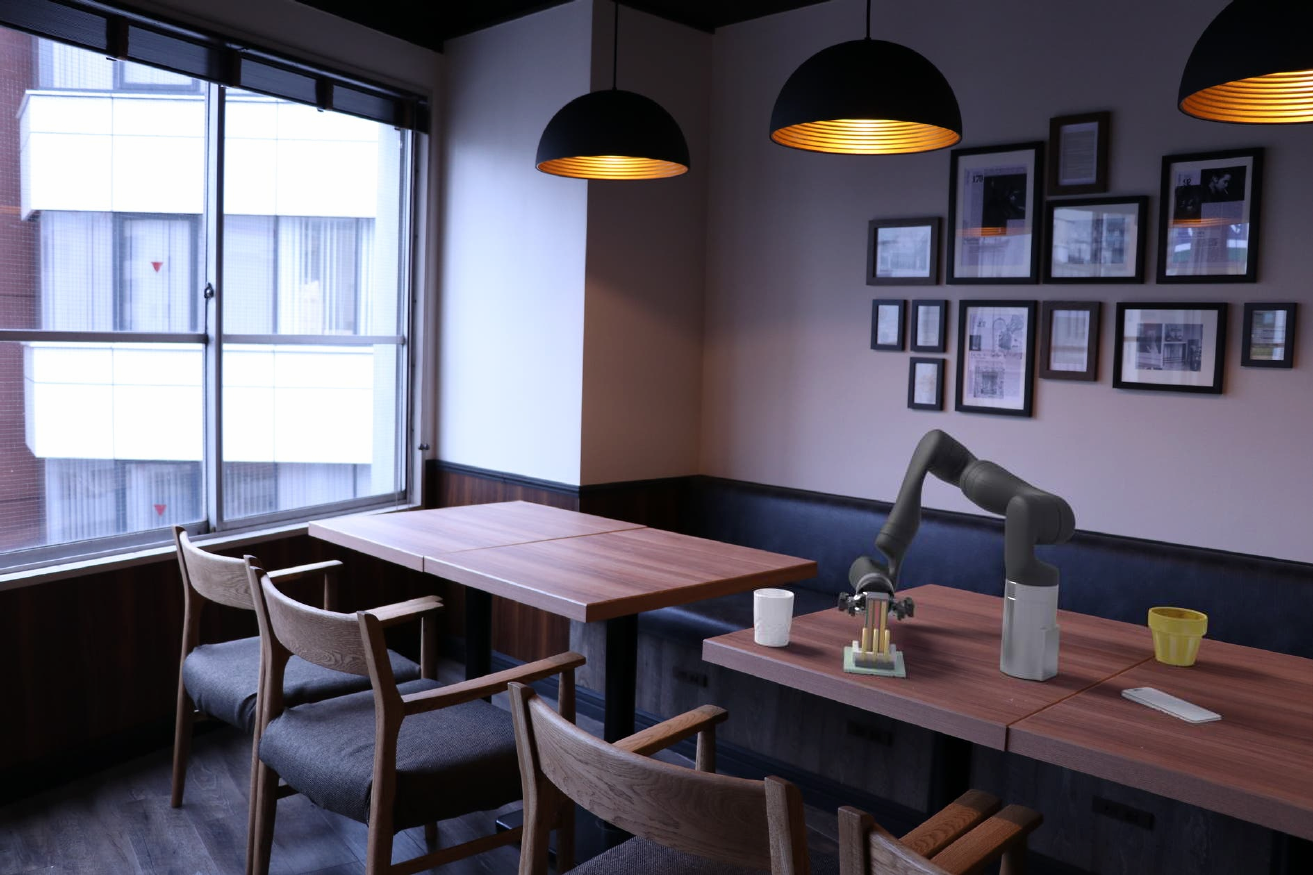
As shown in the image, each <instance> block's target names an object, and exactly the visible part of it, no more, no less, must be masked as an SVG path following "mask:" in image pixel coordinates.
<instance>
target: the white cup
mask: <svg viewBox="0 0 1313 875" xmlns="http://www.w3.org/2000/svg"><path fill="white" fill-rule="evenodd" d="M794 599H795V594H794V593H793V592H792V591H789V590H786V589H778V588H760V589H756V590H754V591H753V625H754V626H753V627H754V642H755V643H756V644H758V645H761V646H764V647H772V648H775V647H776V648H777V647H785V646H787V645H788V644H789V641H790V632H791V627H792V626H791V625H792V619H793V610H794V608H793V607H794Z"/></svg>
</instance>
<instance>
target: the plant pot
mask: <svg viewBox="0 0 1313 875" xmlns="http://www.w3.org/2000/svg"><path fill="white" fill-rule="evenodd" d="M1147 618H1148V619H1147V620H1148V621H1147V623H1148V627H1149V628H1150V629H1151V633H1152V634H1151V635H1152V638H1153V645H1154V651H1155V652H1154V653H1155V658H1156V660H1157V661H1158V662H1160V663H1162V664H1165V665H1170V666H1176V665H1177V667H1191V666H1192V665H1194V664H1195V661H1196V657H1197V655H1198V650H1199V648H1200V645H1201V642H1202V638H1203V636H1205V635H1206V634H1207V629H1208V619H1209V618H1208V615H1207V614H1204V613H1202V612H1199V611H1196V610H1192V609H1188V608H1186V609H1185V608H1180V607H1171V606H1161V607H1160V606H1158V607H1152V608H1149V610H1148V616H1147ZM1190 665H1191V666H1190Z"/></svg>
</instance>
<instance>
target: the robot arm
mask: <svg viewBox="0 0 1313 875" xmlns="http://www.w3.org/2000/svg"><path fill="white" fill-rule="evenodd" d="M908 464H909V465H908V467H907V470H906V472H905V475H904V478H903V480H902V483H901V487H900V490H899V492H898V495H897V498H896V500H895V503H894V504H893V507H892V509H891V511H890V513H889V515H888V517H887V519H886V520H885V521H884V522H885V523H884V525H883V526H882V527H881V530H879V531H880V532H879V533H878V535H877V537H876V538H875V541H874V546H875V548H876V549H877V550H878V551H879V552H880V553H881V554H882V555H883V556H884V557H885V558H886V559H887V561H888V562H887V563H888V566H887V565H884V564H882V563H880V562H879V561H877V560H875V559H874V558H872V557H869V556H867V555H866V556H860V557H858V558H856V559H855V560H854V561H853V562H852V564H851V567H850V568H849V572H848V580H849V583H850V585H851V586H852V587H853V589H855V591H856V592H855V595H854V596H849V595H850V594H849V593H847V592H845V591H842V592H840V593H839V597H838V609H837V611H839V612H845V610H847V614H848V615H850V616H851V617H852V618H855V617H856V614H860V615H861V614H863V615H865V609H866V592H876V593H888V598H889V603H888V617H896V618H897V621H902V620H903V619H906V616H907V617H909V618H914V617H915V602H914V600H913V599H912V598H911V597H909V596H907V597H905V598H903V599H902V600H899V599H898V598H897V597H896V596H895V592H896V590H897V587H898V584H899V579H900V574H901V569H902V566H903V562H904V560H905V557H906V554H907V553H908V551H909V549H910V546H911V545H912V544H913V541H914V539H915V537H916V536H917V534H918V532H919V529H920V524H921V520H922V493H923V491H922V490H923V485H924V481H925V478H926V477H927V473H928V472H929V473H930V474H932V475H933V476H934V477H935V478H937V479H938V480H940V481H943V482H944V483H947V484H950V485H951V486H953V487H957V488H959V489H960V490H961V492H962V494H963V495H964V497H965V498H966V499H968V500H969V501H970V502H972V503H973V504H974V505H975V506H977V507H979V508H980V509H981V510H984V511H985V512H987V513H988V512H989V513H991V514H994V515H997V516H1001V517H1005V520H1004V523H1005V524H1004V565H1005V572H1006V573H1005V587H1004V599H1003V600H1004V601H1003V602H1004V603H1003V616H1002V617H1003V618H1002V632H1001V646H1000V658H999V660H1000V661H999V662H1000V663H999V670H1000V671H1001V672H1002V673H1004V674H1007V675H1008V676H1011V677H1015V678H1020V679H1025V680H1026V679H1027V680H1036V681H1041V682H1043V681H1047V680H1048V679H1051V678H1053V677H1055V676H1057V675H1058V666H1059V665H1058V664H1059V663H1058V662H1059V650H1060V649H1059V648H1060V636H1061V625H1060V624H1059V623H1057V612H1058V599H1059V584H1060V571H1059V569H1058V568H1057V566H1054V565H1051V564H1049V563H1047V562H1044V561H1042V560H1040V559H1039V558H1037V555H1036V546H1057V545H1062V544H1063V543H1066V542H1067V541H1068V540H1070V539H1071V538H1072V536H1073V535H1074V532H1075V531H1076V516H1075V513H1074V511H1073V509H1072V507H1071V505H1070V504H1069V503H1068V502H1067V501H1066V500H1065V499H1064V498H1063V497H1061V496H1059V495H1056V494H1054V493H1052V492H1048V491H1045V490H1043V489H1041V488H1039V487H1036V486H1034V485H1032V484H1031V483H1028V482H1027V481H1025V480H1024V479H1022V478H1020V477H1018V476H1017V475H1015V474H1014V473H1012V472H1010V471H1009V470H1008V469H1006V468H1004V467H1003V466H1001V465H999V464H998V463H995V462H994V461H991V460H987V459H979V458H978V457H976V456H975V455H974V454H973V452H971V450H969V448H967V447H966V446H965V445H963V444H962V443H961V442H960V441H958V440H956V439H955V438H954V437H953V436H951V435H950V434H948V433H947V432H946V431H944V430H942V429H939V428H936V429H932V430H929V431H928V432H927V433H925V434H924V435H923V436H922V437H921V438H920V440H919V442H918V443H917V445H916V447H915V449H914V451H913V454H912V456H911V458H910V462H909V463H908Z"/></svg>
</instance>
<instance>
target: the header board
mask: <svg viewBox="0 0 1313 875" xmlns="http://www.w3.org/2000/svg"><path fill="white" fill-rule="evenodd" d="M867 630H868V629H867V628H864V627H863V628H862V643H861V644H862V645H861V647H859V641H858V640H853V641H852V646H844V653H843V655H844V656H843V673H850V672H851V673H852V674H853V673H854V674H863V675H871V674H873V675H874V676H883V677H893V676H895V677H896V678H903V677H904V679H905V678H906V677H907V676H906V675H907V674H906V668H905V662H904V657H903V656H904V655H903V651H897V647H896V644H895V643H890V637H891V635H890V634H891V632H890V630H889V629H887V630H885V646H884V653H877V650H878V633H879V630H878V629H874V642H873V652H866V648H867ZM851 673H850V674H851ZM873 675H872V676H873ZM895 677H894V678H895Z"/></svg>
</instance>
